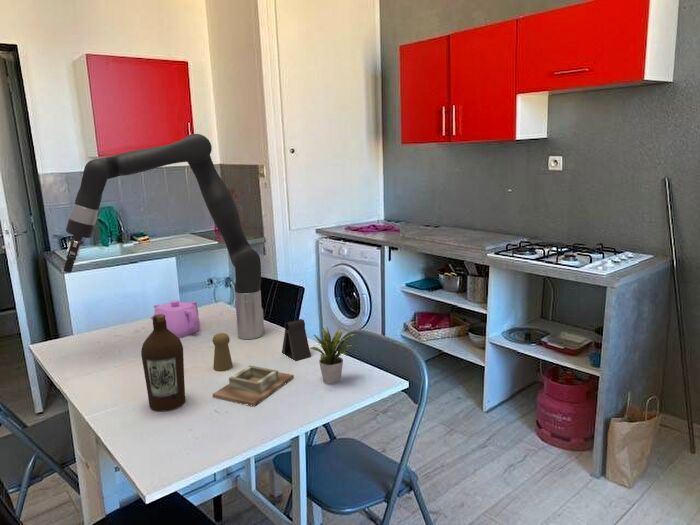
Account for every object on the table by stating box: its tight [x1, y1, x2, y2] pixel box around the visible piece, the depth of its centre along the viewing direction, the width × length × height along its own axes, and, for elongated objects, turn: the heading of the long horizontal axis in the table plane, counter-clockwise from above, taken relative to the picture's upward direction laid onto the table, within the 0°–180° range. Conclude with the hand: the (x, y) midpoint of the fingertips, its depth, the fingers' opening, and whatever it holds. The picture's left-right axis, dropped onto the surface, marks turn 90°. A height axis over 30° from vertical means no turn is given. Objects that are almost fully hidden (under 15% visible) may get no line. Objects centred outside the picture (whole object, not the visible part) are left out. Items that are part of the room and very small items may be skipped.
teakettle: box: [150, 299, 201, 339], centre depth 204 cm, size 17×17×12 cm
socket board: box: [212, 365, 295, 407], centre depth 155 cm, size 20×14×4 cm
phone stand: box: [281, 318, 312, 362], centre depth 178 cm, size 9×6×12 cm, turn 36°
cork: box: [212, 332, 233, 372], centre depth 169 cm, size 6×6×11 cm
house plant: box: [309, 326, 356, 385], centre depth 156 cm, size 14×14×16 cm
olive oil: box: [140, 314, 186, 412], centre depth 144 cm, size 11×11×25 cm
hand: (68, 269), depth 170 cm, fingers open, 8 cm apart
